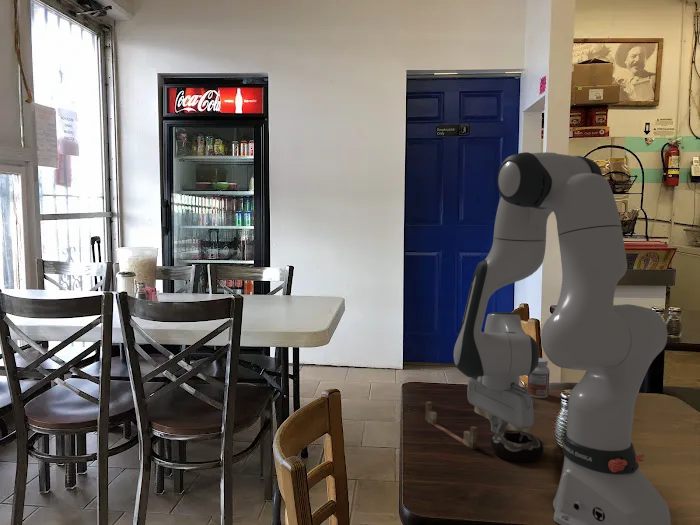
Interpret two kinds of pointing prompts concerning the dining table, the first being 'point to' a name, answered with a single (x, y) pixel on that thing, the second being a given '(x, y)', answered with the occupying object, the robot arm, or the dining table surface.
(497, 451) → the donut
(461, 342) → the robot arm
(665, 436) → the dining table surface
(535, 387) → the pill bottle
